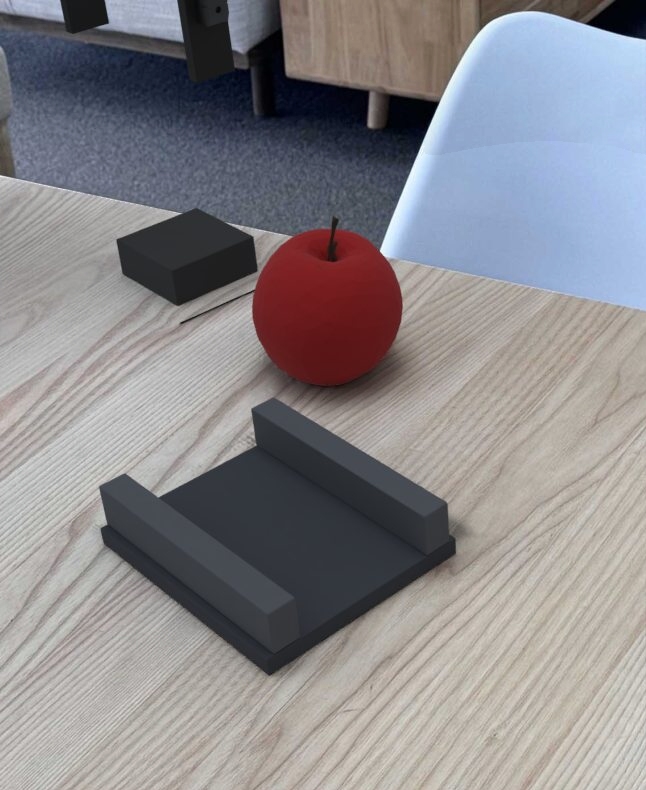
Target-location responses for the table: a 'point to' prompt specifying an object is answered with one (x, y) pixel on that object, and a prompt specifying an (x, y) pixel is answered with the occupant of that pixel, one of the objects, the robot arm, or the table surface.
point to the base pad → (281, 537)
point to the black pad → (187, 257)
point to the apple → (327, 306)
